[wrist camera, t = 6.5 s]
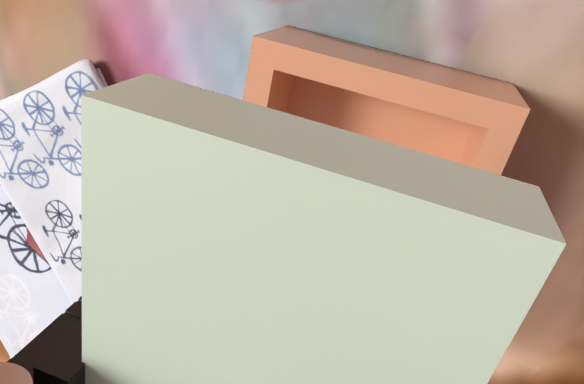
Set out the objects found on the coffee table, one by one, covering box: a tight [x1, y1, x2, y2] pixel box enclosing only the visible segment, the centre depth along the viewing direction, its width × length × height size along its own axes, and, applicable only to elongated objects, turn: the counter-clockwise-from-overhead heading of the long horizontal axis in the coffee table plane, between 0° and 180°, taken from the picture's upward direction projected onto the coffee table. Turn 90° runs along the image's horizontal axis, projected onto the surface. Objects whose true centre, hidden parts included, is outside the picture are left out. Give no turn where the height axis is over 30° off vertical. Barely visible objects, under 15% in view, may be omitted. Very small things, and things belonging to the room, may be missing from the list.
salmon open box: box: [243, 25, 530, 175], centre depth 21 cm, size 10×10×4 cm
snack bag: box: [0, 59, 108, 358], centre depth 31 cm, size 19×20×2 cm
